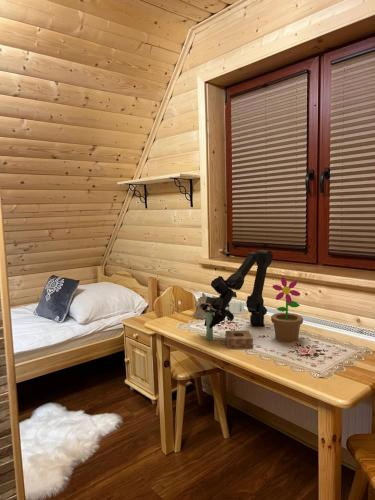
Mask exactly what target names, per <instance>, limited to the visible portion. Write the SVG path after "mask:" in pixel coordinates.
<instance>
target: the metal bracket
mask: <svg viewBox="0 0 375 500" xmlns="http://www.w3.org/2000/svg"><path fill="white" fill-rule="evenodd" d="M229 305H230V306H229V307H226V310H229V311H230V312H231V313H232V314H233V315H248V310H245V303H244V302H236V301H234V302H229Z"/></svg>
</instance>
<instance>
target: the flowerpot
mask: <svg viewBox="0 0 375 500" xmlns="http://www.w3.org/2000/svg"><path fill="white" fill-rule="evenodd" d="M280 282H281V285H282V286H283V287H282V286H281V285H278V284H274V285H273V284H272V289H274V290H275V291H279V293H278V294H276V296H275V300H276V301H278V300H281V299H282V298H284V295H285V306H279V307H277V308H276V310H277V311H279V312H278V313H273V314H272V315H271V316H270V322H271V323H272V324H273V328H274V335H275V339H276V340H277V341H279V342H283V343H295V342H297V341H298V340H299V336H300V328H301V325H302V324H303V323H304V318H303V316H302V315H299V314H297V313H291V312H289V307H291V308H299V307H300V304H299V303H298V302H297V301H294V300H292V297H291V296H295V297H299V296H301V293H300V292H299V290H295V289H294V288H295V286H296V287H297V284H298V281H297V280H293V281H291V282H290V283H289V284H288V282H287V278H286V277H284V276H281V279H280ZM287 285H288V286H287ZM280 291H281V292H280Z"/></svg>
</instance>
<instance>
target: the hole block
mask: <svg viewBox="0 0 375 500" xmlns="http://www.w3.org/2000/svg"><path fill="white" fill-rule="evenodd" d="M225 342H226V346H227V349H235V348H239V349H240V348H243V349H244V348H247V349H249V348H254V339H253V336H252V334H251V331H250V330H248V329H247V330H246V329H245V330H225Z"/></svg>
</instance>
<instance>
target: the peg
mask: <svg viewBox="0 0 375 500" xmlns="http://www.w3.org/2000/svg"><path fill="white" fill-rule="evenodd" d="M212 320H213V313H212V312H206V326H205V327H206V341H207V342H212V341H213V340H214V329H213V328H214V326H213V327H212V328H209V326H210V323H211V322H212Z"/></svg>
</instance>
